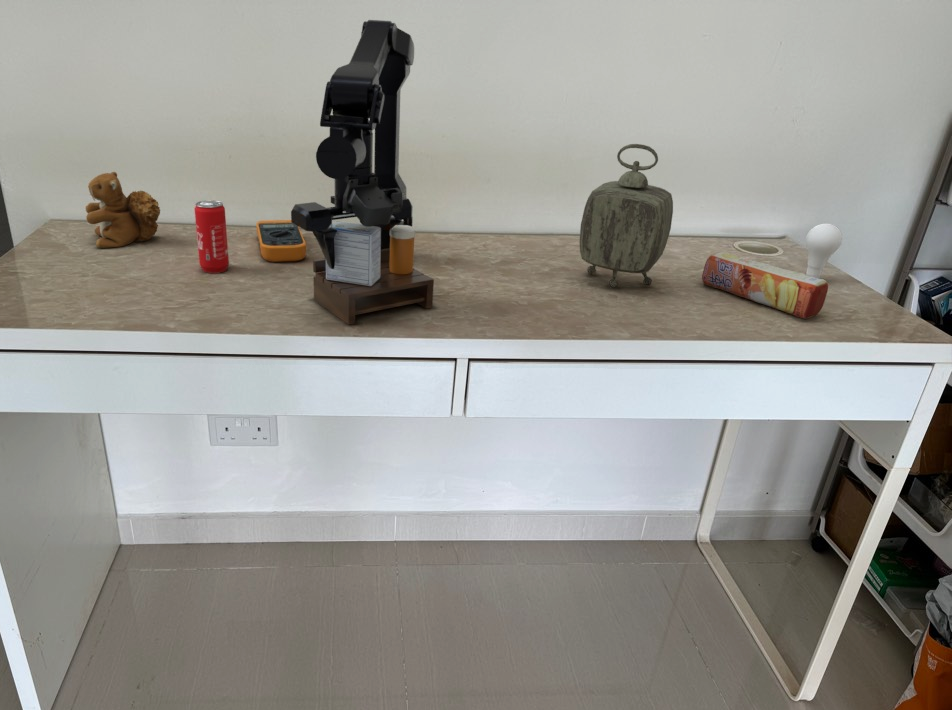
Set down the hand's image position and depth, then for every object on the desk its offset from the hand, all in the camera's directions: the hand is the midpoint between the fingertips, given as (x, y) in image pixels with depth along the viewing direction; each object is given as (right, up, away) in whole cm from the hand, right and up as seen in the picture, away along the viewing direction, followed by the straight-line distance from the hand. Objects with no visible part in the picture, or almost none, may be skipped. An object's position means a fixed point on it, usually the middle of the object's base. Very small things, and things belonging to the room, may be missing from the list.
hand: (353, 264), depth 123 cm
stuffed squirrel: (-47, +10, +31) cm, 57 cm away
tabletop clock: (+47, 0, +20) cm, 51 cm away
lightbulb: (+88, +2, +27) cm, 92 cm away
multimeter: (-17, +9, +30) cm, 35 cm away
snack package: (+72, -4, +16) cm, 73 cm away
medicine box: (0, -2, +1) cm, 3 cm away
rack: (+3, -5, +6) cm, 9 cm away
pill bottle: (+8, 0, +6) cm, 10 cm away
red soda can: (-27, +2, +18) cm, 32 cm away
